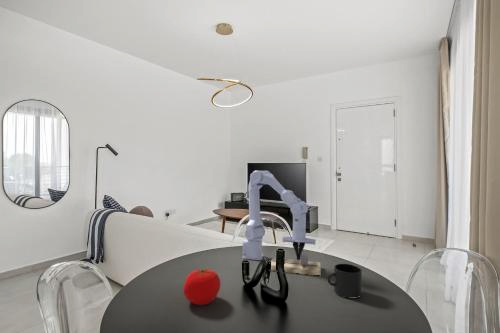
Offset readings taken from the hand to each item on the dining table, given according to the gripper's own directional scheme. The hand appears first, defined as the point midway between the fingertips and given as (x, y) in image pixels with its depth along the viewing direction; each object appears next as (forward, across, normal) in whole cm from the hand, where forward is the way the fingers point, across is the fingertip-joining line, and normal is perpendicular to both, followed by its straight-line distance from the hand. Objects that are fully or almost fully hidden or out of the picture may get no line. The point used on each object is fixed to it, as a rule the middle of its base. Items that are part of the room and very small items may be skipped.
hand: (298, 259), depth 118 cm
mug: (+5, +18, -18) cm, 26 cm away
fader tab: (+2, +3, 0) cm, 3 cm away
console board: (+5, -2, 0) cm, 5 cm away
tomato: (+5, -30, -38) cm, 48 cm away
